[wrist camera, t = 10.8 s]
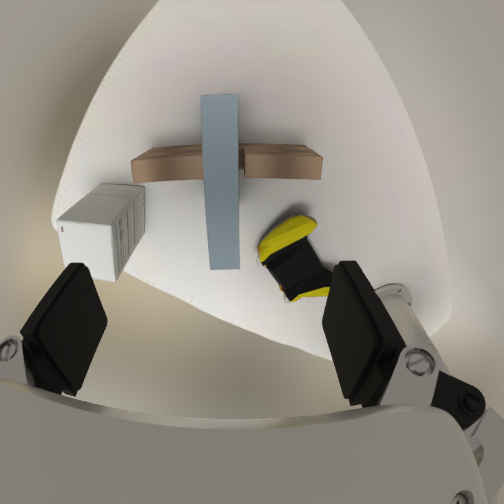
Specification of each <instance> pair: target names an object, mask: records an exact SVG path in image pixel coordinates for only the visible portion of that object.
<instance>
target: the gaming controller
mask: <svg viewBox="0 0 504 504" xmlns="http://www.w3.org/2000/svg"><path fill="white" fill-rule="evenodd" d="M316 227H317V222H316V220H315V219H314V218H312V217H310V216H307V215H304V214H301V213H298V214H294V215H290V216H288V217H286V218H285V219H283V220H282V221H281V222H279V223H278V224H277V225H275V226H274V227H272V228H271V229H270V230H269V231H268V232H267V234H266V235H265V236H264V237H263V238H262V239H261V241H260V245H259V246H258V253H259V255H258V258H257V260H256V262H257V265H258V266H266V268H267V269H268V270H269V272H270V273H271V274H272V276H273V277H274V278H275V280H276V281H277V282H278V284H279V288H280V290H281V291H282V292H284V301H285V302H286V303H289V302H295V301H297V300H298V299H300V298H302V297H318V296H328V293H329V289H330V284H331V279H332V275H333V270H332V269H330V268H328V267H327V266H325V265H323V264H322V263H321V262H320V260H319V259H318V257H317V255H316V253H315V252H314V250H313V248H312V247H311V245H310V243H309V241H308V240H307V235H309V234H310V233H312V231H313V230H314V229H315V228H316Z"/></svg>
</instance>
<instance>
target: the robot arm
mask: <svg viewBox="0 0 504 504" xmlns="http://www.w3.org/2000/svg"><path fill="white" fill-rule="evenodd" d="M411 301H412V299H411V294H410V292H409V291H408V290H407V289H406V288H405V287H404V286H402V285H397V284H393V285H387V286H384V287H382V288H379V289H377V290H376V291H374V289H373V287H372V286H371V284H370V282H369V281H368V279H367V277H366V276H365V274H364V273H363V271H362V269H361V268H360V266H359V265H358V263H357V262H356V261H340V262H339V265H335V266H334V270H333V275H332V279H331V284H330V289H329V293H328V298H327V302H326V306H325V310H324V315H323V319H322V326H323V330H324V333H325V336H326V339H327V343H328V346H329V349H330V352H331V356H332V359H333V362H334V366H335V369H336V372H337V375H338V379H339V383H340V386H341V389H342V393H343V396H344V398H345V399H349V402H350V405H351V406H354V405H359V404H361V405H362V408H359V409H352V410H346V411H340V412H333V413H325V414H317V415H308V416H297V417H286V418H272V419H237V420H236V419H233V420H232V419H231V420H230V419H200V418H184V417H173V416H163V415H155V414H147V413H140V412H134V411H128V410H122V409H116V408H112V407H107V406H102V405H97V404H93V403H89V402H84V401H81V400H77V399H73V398H69V397H66V396H63V395H61V394H62V391H63V392H64V393H65V394H68V395H71V396H76V394H77V391H78V390H80V389H81V387H82V384H83V382H84V379H85V376H86V374H87V371H88V369H89V366H90V363H91V361H92V359H93V356H94V354H95V352H96V349H97V346H98V344H99V342H100V340H101V338H102V335H103V333H104V331H105V329H106V326H107V316H106V314H105V311H104V309H103V306H102V304H101V301H100V298H99V296H98V293H97V290H96V288H95V285H94V282H93V280H92V276H91V273H90V270H89V268H88V267H87V266H86V265H85V264H84V263H75V262H72V263H70V264H69V265H68V266H67V267H66V268H65V270H64V271H63V272H62V273H61V275H60V276H59V277H58V278H57V280H56V281H55V282H54V284H53V285H52V286H51V288H50V289H49V290H48V292H47V293H46V294H45V296H44V297H43V299H42V300H41V301H40V303H39V304H38V305H37V307H36V308H35V310H34V311H33V313H32V314H31V315H30V317H29V318H28V320H27V321H26V323H25V325H24V326H23V328H22V329H21V331H20V333H21V334H22V336H23V338H24V339H23V340H22V341H21V340H20V339H19V337H17V336H9V337H6V338H5V339H3V340H2V341H1V342H0V504H501V503H500V501H499V500H498V498H497V496H496V494H497V492H498V491H499V489H500V487H501V485H502V483H503V482H504V419H503V418H502V417H501V416H500V415H498V414H497V413H496V412H495V411H494V410H493V409H492V408H491V407H489V408H488V409H486V408H485V404H486V403H485V399H484V396H483V395H482V393H481V392H480V391H479V390H478V389H477V388H475V387H474V386H472V385H469V384H467V383H465V382H463V381H461V380H458V379H457V378H455V377H453V376H452V375H451V374H450V372H449V371H448V369H447V367H446V365H445V364H444V362H443V360H442V358H441V357H440V355H439V353H438V351H437V350H436V348H435V346H434V345H433V343H432V341H431V340H430V338H429V336H428V335H427V333H426V331H425V330H424V328H423V326H422V325H421V323H420V322H419V320H418V319H417V317H416V315H415V314H414V312H413V311H412V309H411V308H410V306H411Z"/></svg>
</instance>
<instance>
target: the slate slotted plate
mask: <svg viewBox="0 0 504 504" xmlns="http://www.w3.org/2000/svg"><path fill="white" fill-rule="evenodd" d="M201 123H202V152H203V174H204V192H205V208H206V223H207V236H208V248H209V260H210V270H218V269H240V255H239V178H238V94H222V95H202V96H201Z"/></svg>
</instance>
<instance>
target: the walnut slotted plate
mask: <svg viewBox="0 0 504 504" xmlns="http://www.w3.org/2000/svg"><path fill="white" fill-rule="evenodd" d="M322 160H323V157H322V156H320V155H319V154H317V153H316V152H314V151H313V150H311V149H310V148H308V147H307V146H305V145H286V144H238V169H244V175H245V178H282V179H312V180H321V172H322ZM131 169H132V177H133V183H143V182H156V181H171V180H191V179H204V174H203V152H202V145H186V146H172V147H160V148H152V149H150V150H148V151H147V152H145V153H143V154H142V155H140V156H138V157H136V158H135V159H133V160H132V161H131Z"/></svg>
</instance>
